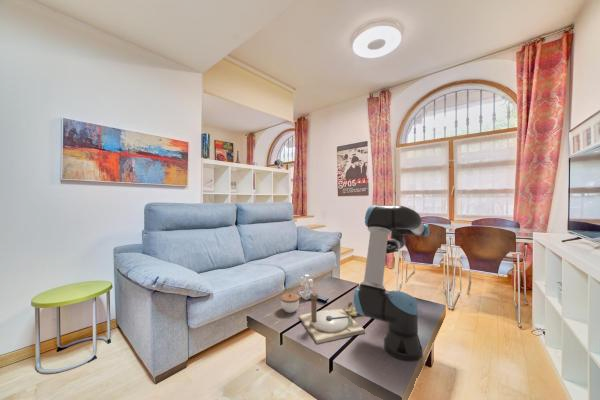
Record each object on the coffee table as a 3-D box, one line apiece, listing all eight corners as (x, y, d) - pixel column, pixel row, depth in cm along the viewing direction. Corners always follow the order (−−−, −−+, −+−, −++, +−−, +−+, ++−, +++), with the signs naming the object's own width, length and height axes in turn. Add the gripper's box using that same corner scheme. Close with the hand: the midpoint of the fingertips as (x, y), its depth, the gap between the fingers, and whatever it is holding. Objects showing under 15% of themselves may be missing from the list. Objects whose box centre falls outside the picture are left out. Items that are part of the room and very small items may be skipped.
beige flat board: (364, 332, 115) (364, 329, 115) (317, 343, 107) (317, 339, 107) (340, 310, 138) (340, 307, 138) (299, 317, 129) (299, 314, 129)
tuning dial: (342, 310, 134) (342, 284, 133) (357, 329, 115) (357, 299, 115) (306, 314, 130) (306, 287, 129) (315, 334, 111) (315, 302, 111)
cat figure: (353, 323, 127) (391, 311, 135) (352, 307, 126) (390, 296, 134) (343, 314, 136) (380, 304, 144) (342, 299, 136) (379, 290, 144)
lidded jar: (292, 316, 131) (292, 299, 131) (277, 311, 137) (277, 295, 136) (302, 308, 140) (302, 292, 140) (287, 304, 146) (287, 289, 145)
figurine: (316, 298, 154) (316, 275, 154) (304, 301, 149) (304, 277, 149) (309, 294, 160) (309, 272, 160) (297, 297, 155) (297, 274, 155)
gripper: (402, 253, 144) (388, 261, 126) (381, 250, 153) (365, 257, 135) (402, 241, 144) (388, 247, 126) (381, 238, 152) (365, 244, 134)
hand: (376, 252), depth 130 cm, fingers closed
